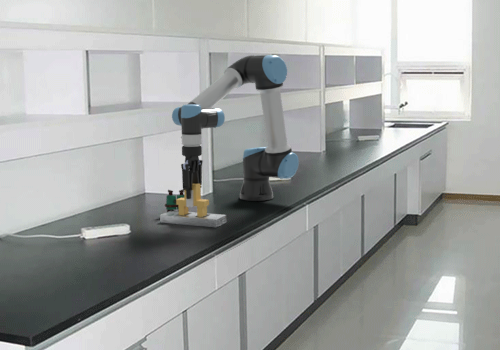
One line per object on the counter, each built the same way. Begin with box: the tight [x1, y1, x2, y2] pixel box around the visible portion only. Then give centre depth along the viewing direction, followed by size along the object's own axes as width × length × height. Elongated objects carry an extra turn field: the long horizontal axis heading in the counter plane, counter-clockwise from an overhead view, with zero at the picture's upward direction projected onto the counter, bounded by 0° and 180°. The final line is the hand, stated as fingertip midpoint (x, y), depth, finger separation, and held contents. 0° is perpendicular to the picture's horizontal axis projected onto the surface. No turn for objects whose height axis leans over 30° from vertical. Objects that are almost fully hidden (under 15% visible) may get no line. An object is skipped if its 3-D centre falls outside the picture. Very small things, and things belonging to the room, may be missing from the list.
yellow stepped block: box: [176, 183, 210, 217], centre depth 275 cm, size 12×4×12 cm, turn 67°
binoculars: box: [164, 188, 184, 212], centre depth 292 cm, size 9×11×10 cm
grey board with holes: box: [159, 210, 227, 228], centre depth 276 cm, size 9×24×3 cm, turn 67°
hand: (192, 205), depth 275 cm, fingers closed on yellow stepped block, 4 cm apart
